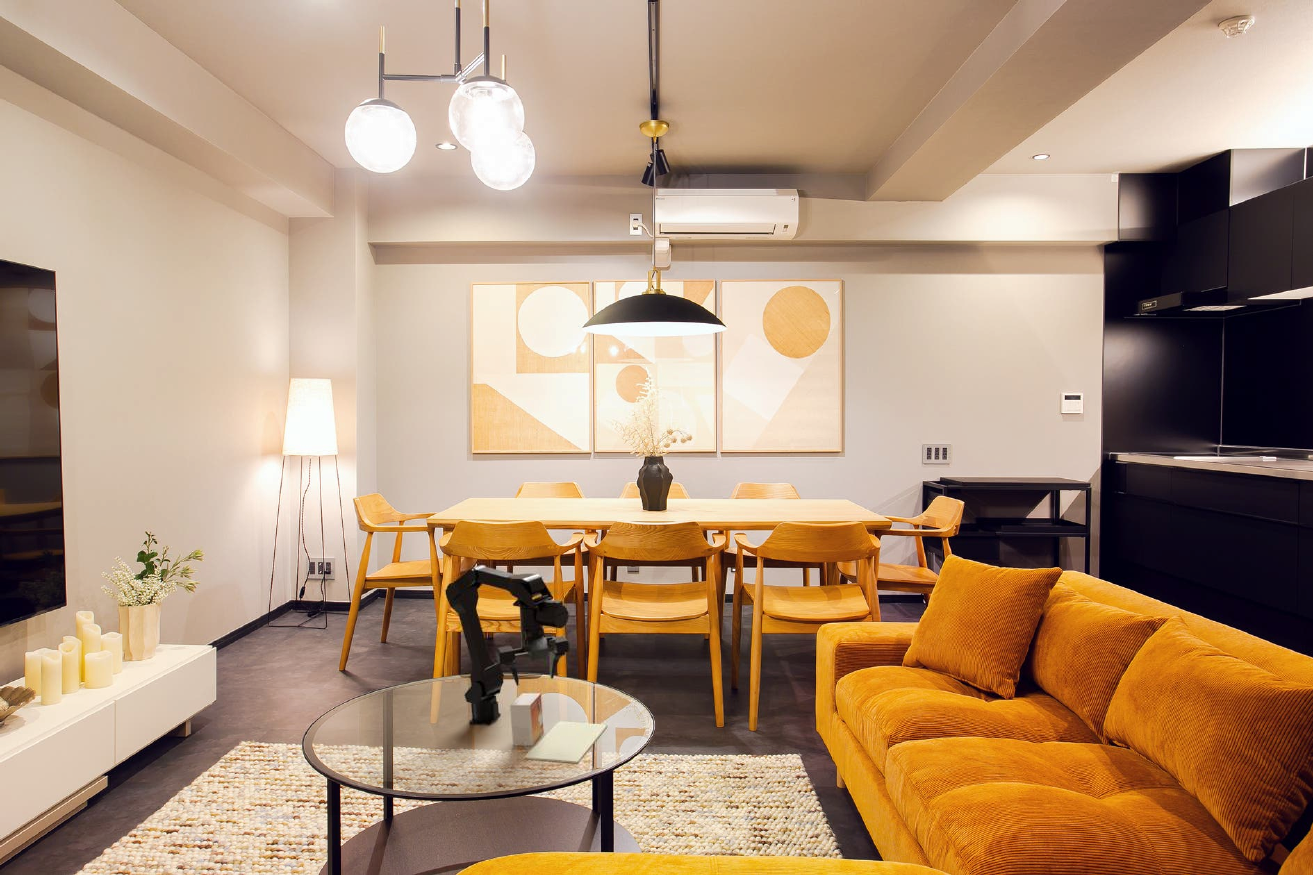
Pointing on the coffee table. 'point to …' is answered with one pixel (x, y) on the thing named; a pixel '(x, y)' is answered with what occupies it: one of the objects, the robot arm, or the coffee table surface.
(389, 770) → the coffee table surface
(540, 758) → the mat
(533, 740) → the small box
